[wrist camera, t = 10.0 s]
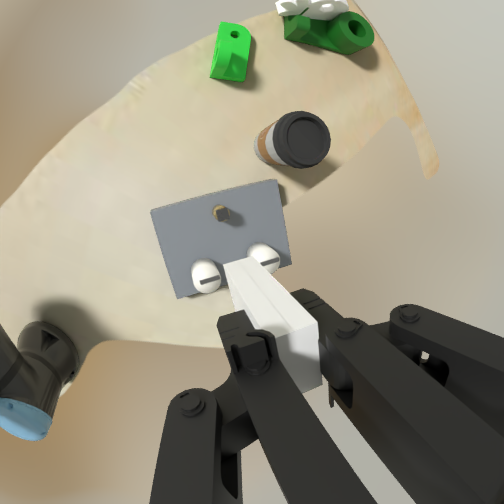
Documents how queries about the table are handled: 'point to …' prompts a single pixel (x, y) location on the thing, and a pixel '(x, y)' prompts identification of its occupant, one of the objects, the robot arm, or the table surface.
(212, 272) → the knob
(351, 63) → the table surface
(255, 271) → the robot arm
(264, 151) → the coffee cup
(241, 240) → the plate
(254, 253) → the knob
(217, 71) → the mechanical part
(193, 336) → the table surface
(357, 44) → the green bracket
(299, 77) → the table surface
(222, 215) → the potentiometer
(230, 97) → the table surface
